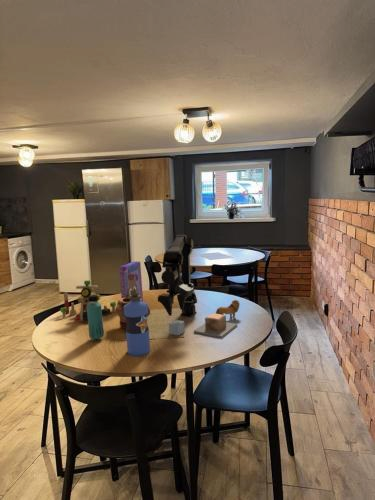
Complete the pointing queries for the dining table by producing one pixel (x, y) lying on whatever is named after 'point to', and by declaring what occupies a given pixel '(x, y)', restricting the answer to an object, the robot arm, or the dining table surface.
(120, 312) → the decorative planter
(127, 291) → the cereal box
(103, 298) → the dining table surface
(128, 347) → the water bottle
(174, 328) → the slate-gray cube
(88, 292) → the toy construction set
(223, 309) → the lion figurine
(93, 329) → the teal caped figurine
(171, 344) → the dining table surface
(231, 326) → the tower base
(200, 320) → the dining table surface
